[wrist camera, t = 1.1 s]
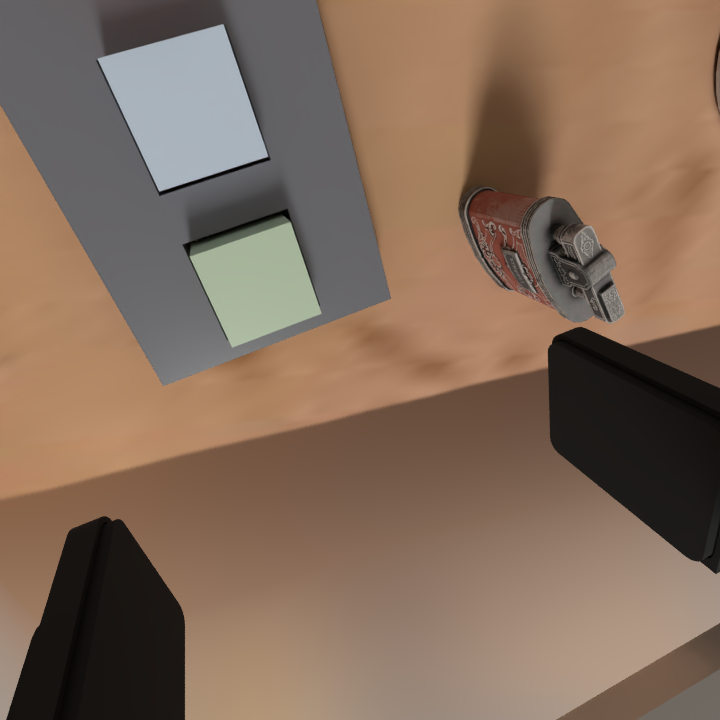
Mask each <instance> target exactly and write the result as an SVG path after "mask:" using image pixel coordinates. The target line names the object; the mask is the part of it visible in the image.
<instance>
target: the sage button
mask: <svg viewBox="0 0 720 720" xmlns="http://www.w3.org/2000/svg"><path fill="white" fill-rule="evenodd" d="M190 258H191V261H192V263H193V265H194V267H195V269H196V271H197V273H198V276H199V278H200V280H201V282H202V284H203V286H204V288H205V291H206V293H207V295H208V297H209V299H210V301H211V304H212V306H213V308H214V310H215V312H216V314H217V316H218V319H219V321H220V323H221V325H222V327H223V329H224V331H225V334H226V336H227V338H228V340H229V342H230V344H231V346H232V348H233V347H235V346H238V345H240V344H243V343H246V342H248V341H251V340H254V339H256V338H259V337H262V336H264V335H267V334H269V333H272V332H275V331H277V330H280V329H283V328H285V327H288V326H290V325H293V324H296V323H298V322H301V321H304V320H306V319H309V318H311V317H314V316H317V315H319V314H322V313H321V310H320V307H319V304H318V301H317V298H316V296H315V293H314V290H313V287H312V284H311V281H310V278H309V275H308V272H307V269H306V266H305V263H304V260H303V257H302V254H301V251H300V248H299V245H298V242H297V240H296V237H295V234H294V231H293V228H292V225H291V222H290V221H289V220H288V219H287V218H286V217H284V216H283V215H282V214H281V213H278V214H275V215H272V216H269V217H266V218H263V219H260V220H257V221H254V222H251V223H248V224H246V225H243V226H240V227H237V228H234V229H231V230H228V231H225V232H222V233H219V234H216V235H213V236H210V237H207V238H205V239H202V240H199V241H196V242H193V243H191V250H190Z"/></svg>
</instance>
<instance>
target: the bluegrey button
mask: <svg viewBox="0 0 720 720" xmlns="http://www.w3.org/2000/svg"><path fill="white" fill-rule="evenodd" d="M98 61H99V63H100V65H101V67H102V70H103V72H104V74H105V76H106V78H107V80H108V82H109V85H110V87H111V89H112V91H113V93H114V95H115V98H116V100H117V102H118V104H119V106H120V108H121V110H122V113H123V115H124V117H125V119H126V121H127V123H128V125H129V128H130V130H131V132H132V134H133V136H134V138H135V140H136V143H137V145H138V147H139V149H140V151H141V153H142V155H143V158H144V160H145V162H146V164H147V166H148V168H149V170H150V173H151V175H152V177H153V179H154V181H155V183H156V185H157V188H158V190H159V191H163V190H166V189H169V188H172V187H175V186H178V185H181V184H184V183H187V182H191V181H194V180H197V179H200V178H203V177H206V176H209V175H212V174H215V173H219V172H222V171H225V170H228V169H231V168H234V167H237V166H240V165H243V164H246V163H250V162H253V161H256V160H259V159H262V158H265V157H268V154H267V151H266V148H265V145H264V142H263V139H262V136H261V133H260V130H259V127H258V125H257V122H256V119H255V116H254V113H253V110H252V107H251V104H250V101H249V98H248V95H247V92H246V89H245V86H244V83H243V80H242V77H241V74H240V71H239V69H238V66H237V63H236V60H235V57H234V54H233V51H232V48H231V45H230V42H229V39H228V36H227V33H226V30H225V27H224V24H222V25H218V26H215V27H211V28H207V29H204V30H200V31H196V32H193V33H189V34H185V35H182V36H178V37H174V38H171V39H167V40H163V41H160V42H156V43H152V44H149V45H145V46H141V47H138V48H134V49H130V50H127V51H123V52H120V53H116V54H112V55H109V56H105V57H101V58H98Z"/></svg>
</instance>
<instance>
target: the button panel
mask: <svg viewBox="0 0 720 720" xmlns="http://www.w3.org/2000/svg"><path fill="white" fill-rule="evenodd" d="M222 24H224V27H225V30H226V33H227V36H228V39H229V42H230V45H231V48H232V51H233V54H234V57H235V60H236V63H237V66H238V69H239V71H240V74H241V77H242V80H243V83H244V86H245V89H246V92H247V95H248V98H249V101H250V104H251V107H252V110H253V113H254V116H255V119H256V122H257V125H258V127H259V130H260V133H261V136H262V139H263V142H264V145H265V148H266V151H267V154H268V157H265V158H264V159H260V160H257V161H254V162H251V163H248V164H245V165H242V166H239V167H236V168H232V169H229V170H226V171H223V172H220V173H217V174H214V175H211V176H208V177H204V178H201V179H198V180H195V181H192V182H189V183H186V184H183V185H180V186H177V187H173V188H170V189H167V190H163V191H159V190H158V188H157V185H156V183H155V181H154V179H153V177H152V175H151V173H150V170H149V168H148V166H147V164H146V162H145V160H144V158H143V155H142V153H141V151H140V149H139V147H138V145H137V143H136V140H135V138H134V136H133V134H132V132H131V130H130V128H129V125H128V123H127V121H126V119H125V117H124V115H123V113H122V110H121V108H120V106H119V104H118V102H117V100H116V98H115V95H114V93H113V91H112V89H111V87H110V85H109V82H108V80H107V78H106V76H105V74H104V72H103V70H102V67H101V65H100V63H99V61H98V58H101V57H105V56H109V55H112V54H116V53H120V52H123V51H127V50H130V49H134V48H138V47H141V46H145V45H149V44H152V43H156V42H160V41H163V40H167V39H171V38H174V37H178V36H182V35H185V34H189V33H193V32H196V31H200V30H204V29H207V28H211V27H215V26H218V25H222ZM0 105H1V107H2V108H3V110H4V112H5V114H6V115H7V117H8V119H9V120H10V122H11V124H12V126H13V127H14V129H15V131H16V132H17V134H18V136H19V138H20V139H21V141H22V143H23V145H24V146H25V148H26V150H27V151H28V153H29V155H30V157H31V158H32V160H33V162H34V164H35V165H36V167H37V169H38V170H39V172H40V174H41V176H42V177H43V179H44V181H45V182H46V184H47V186H48V188H49V189H50V191H51V193H52V195H53V196H54V198H55V200H56V201H57V203H58V205H59V207H60V208H61V210H62V212H63V214H64V215H65V217H66V219H67V220H68V222H69V224H70V226H71V227H72V229H73V231H74V233H75V234H76V236H77V238H78V239H79V241H80V243H81V245H82V246H83V248H84V250H85V251H86V253H87V255H88V257H89V258H90V260H91V262H92V264H93V265H94V267H95V269H96V270H97V272H98V274H99V276H100V277H101V279H102V281H103V283H104V284H105V286H106V288H107V289H108V291H109V293H110V295H111V296H112V298H113V300H114V301H115V303H116V305H117V307H118V308H119V310H120V312H121V314H122V315H123V317H124V319H125V320H126V322H127V324H128V326H129V327H130V329H131V331H132V333H133V334H134V336H135V338H136V339H137V341H138V343H139V345H140V346H141V348H142V350H143V352H144V353H145V355H146V357H147V358H148V360H149V362H150V364H151V365H152V367H153V369H154V370H155V372H156V374H157V376H158V377H159V379H160V381H161V383H162V384H163V386H165V385H167V384H170V383H173V382H175V381H178V380H180V379H183V378H186V377H188V376H191V375H193V374H196V373H199V372H201V371H204V370H206V369H209V368H212V367H214V366H217V365H219V364H222V363H225V362H227V361H230V360H232V359H235V358H238V357H240V356H243V355H245V354H248V353H251V352H253V351H256V350H258V349H261V348H264V347H266V346H269V345H271V344H274V343H277V342H279V341H282V340H285V339H287V338H290V337H292V336H295V335H298V334H300V333H303V332H305V331H308V330H311V329H313V328H316V327H318V326H321V325H324V324H326V323H329V322H331V321H334V320H337V319H339V318H342V317H344V316H347V315H350V314H352V313H355V312H357V311H360V310H363V309H365V308H368V307H370V306H373V305H376V304H378V303H381V302H383V301H386V300H389V299H391V296H390V292H389V288H388V284H387V280H386V276H385V272H384V268H383V265H382V261H381V257H380V253H379V249H378V245H377V241H376V237H375V233H374V229H373V225H372V221H371V217H370V213H369V209H368V205H367V201H366V197H365V193H364V189H363V185H362V181H361V177H360V173H359V169H358V165H357V161H356V157H355V153H354V149H353V145H352V141H351V137H350V133H349V129H348V125H347V121H346V117H345V113H344V109H343V105H342V101H341V97H340V93H339V89H338V85H337V81H336V77H335V73H334V70H333V66H332V62H331V58H330V54H329V50H328V46H327V42H326V38H325V34H324V30H323V26H322V22H321V18H320V14H319V10H318V6H317V2H316V0H0ZM279 211H282V212H283V215H284V217H286V218H287V219H288V220H289V221H290V222H291V225H292V228H293V231H294V234H295V237H296V240H297V242H298V245H299V248H300V251H301V254H302V257H303V260H304V263H305V266H306V269H307V272H308V275H309V278H310V281H311V284H312V287H313V290H314V293H315V296H316V298H317V301H318V304H319V307H320V310H321V313H322V314H319V315H317V316H314V317H311V318H309V319H306V320H304V321H301V322H298V323H296V324H293V325H290V326H288V327H285V328H283V329H280V330H277V331H275V332H272V333H269V334H267V335H264V336H262V337H259V338H256V339H254V340H251V341H248V342H246V343H243V344H240V345H238V346H235V347H233V348H232V346H231V344H230V342H229V340H228V338H227V336H226V334H225V331H224V329H223V327H222V325H221V323H220V321H219V319H218V316H217V314H216V312H215V310H214V308H213V306H212V304H211V301H210V299H209V297H208V295H207V293H206V291H205V288H204V286H203V284H202V282H201V280H200V278H199V276H198V273H197V271H196V269H195V267H194V265H193V263H192V261H191V258H190V250H191V248H190V246H189V244H188V242H191V241H194V240H197V239H200V238H203V237H206V236H209V235H212V234H215V233H218V232H220V231H223V230H226V229H229V228H232V227H235V226H238V225H241V224H244V223H247V222H250V221H253V220H256V219H259V218H262V217H264V216H267V215H270V214H273V213H276V212H279Z"/></svg>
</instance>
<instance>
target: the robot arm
mask: <svg viewBox="0 0 720 720" xmlns="http://www.w3.org/2000/svg"><path fill="white" fill-rule="evenodd" d="M716 95H717V102H718V108H719V111H720V50H719V54H718V62H717V69H716ZM548 373H549V410H550V439H551V443H552V445H553V447H554V448H555V450H556V451H557V452H558V453H559V454H560V455H561V456H563V457H564V458H565V459H566V460H568V461H569V462H570V463H571V464H573V465H574V466H575V467H576V468H577V469H579V470H580V471H581V472H582V473H584V474H585V475H586V476H587V477H589V478H590V479H591V480H592V481H593V482H595V483H596V484H597V485H598V486H600V487H601V488H602V489H603V490H605V491H606V492H607V493H608V494H610V495H611V496H612V497H613V498H614V499H616V500H617V501H618V502H619V503H621V504H622V505H623V506H624V507H625V508H627V509H628V510H629V511H631V512H632V513H633V514H634V515H635V516H637V517H638V518H639V519H640V520H641V521H643V522H644V523H645V524H646V525H648V526H649V527H650V528H651V529H653V530H654V531H655V532H656V533H658V534H659V535H660V536H661V537H662V538H664V539H665V540H666V541H667V542H669V543H670V544H671V545H672V546H673V547H675V548H676V549H677V550H678V551H680V552H681V553H682V554H683V555H685V556H686V557H688V558H689V559H691V560H693V561H700V562H701V563H703V564H704V565H705V566H706V567H708V568H709V569H710V570H712V571H713V572H714V573H715V574H717V573H719V572H720V388H718V387H716V386H713V385H711V384H709V383H707V382H704V381H702V380H700V379H698V378H696V377H693V376H691V375H689V374H687V373H684V372H682V371H680V370H678V369H675V368H673V367H671V366H669V365H666V364H664V363H662V362H660V361H657V360H655V359H653V358H651V357H648V356H646V355H644V354H642V353H640V352H637V351H635V350H633V349H631V348H628V347H626V346H624V345H622V344H619V343H617V342H615V341H613V340H610V339H608V338H606V337H604V336H601V335H599V334H597V333H595V332H592V331H590V330H588V329H586V328H582V327H577V328H574V329H572V330H569V331H567V332H564V333H562V334H559V335H557V336H555V337H554V339H553V341H552V345H550V346H549V348H548ZM6 720H185V620H184V615H183V612H182V609H181V606H180V605H179V603H178V602H177V600H176V599H175V597H174V596H173V594H172V593H171V591H170V590H169V588H168V587H167V585H166V584H165V582H164V581H163V580H162V578H161V577H160V575H159V574H158V572H157V571H156V569H155V568H154V567H153V565H152V563H151V562H150V560H149V559H148V557H147V556H146V554H145V553H144V552H143V550H142V549H141V547H140V546H139V544H138V543H137V541H136V540H135V538H134V537H133V535H132V534H131V533H130V531H129V529H128V528H127V527H126V525H125V524H124V522H123V521H122V520H120V519H117V520H114V521H111V519H110V518H108V517H106V516H103V517H100V518H98V519H95V520H93V521H90V522H88V523H85V524H83V525H80V526H78V527H75V528H73V529H71V530H70V531H69V533H68V535H67V538H66V541H65V544H64V548H63V551H62V554H61V557H60V561H59V564H58V567H57V570H56V574H55V577H54V580H53V583H52V587H51V590H50V593H49V597H48V600H47V603H46V606H45V610H44V613H43V616H42V620H41V623H40V625H39V627H38V628H37V629H36V630H35V633H34V635H33V637H32V640H31V643H30V646H29V649H28V652H27V655H26V659H25V662H24V665H23V668H22V671H21V675H20V678H19V681H18V684H17V687H16V690H15V694H14V697H13V700H12V703H11V706H10V710H9V713H8V716H7V719H6ZM557 720H720V623H719V624H718V625H716V626H714V627H713V628H711V629H709V630H708V631H706V632H704V633H702V634H701V635H699V636H697V637H696V638H694V639H692V640H691V641H689V642H687V643H685V644H684V645H682V646H680V647H679V648H677V649H675V650H673V651H672V652H670V653H668V654H667V655H665V656H663V657H662V658H660V659H658V660H656V661H655V662H653V663H651V664H650V665H648V666H646V667H645V668H643V669H641V670H640V671H638V672H636V673H634V674H633V675H631V676H629V677H628V678H626V679H625V680H623V681H621V682H619V683H618V684H616V685H614V686H612V687H611V688H609V689H607V690H606V691H604V692H602V693H601V694H599V695H597V696H596V697H594V698H592V699H591V700H589V701H587V702H585V703H584V704H582V705H580V706H579V707H577V708H575V709H574V710H572V711H570V712H569V713H567V714H565V715H564V716H562V717H560V718H559V719H557Z"/></svg>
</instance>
